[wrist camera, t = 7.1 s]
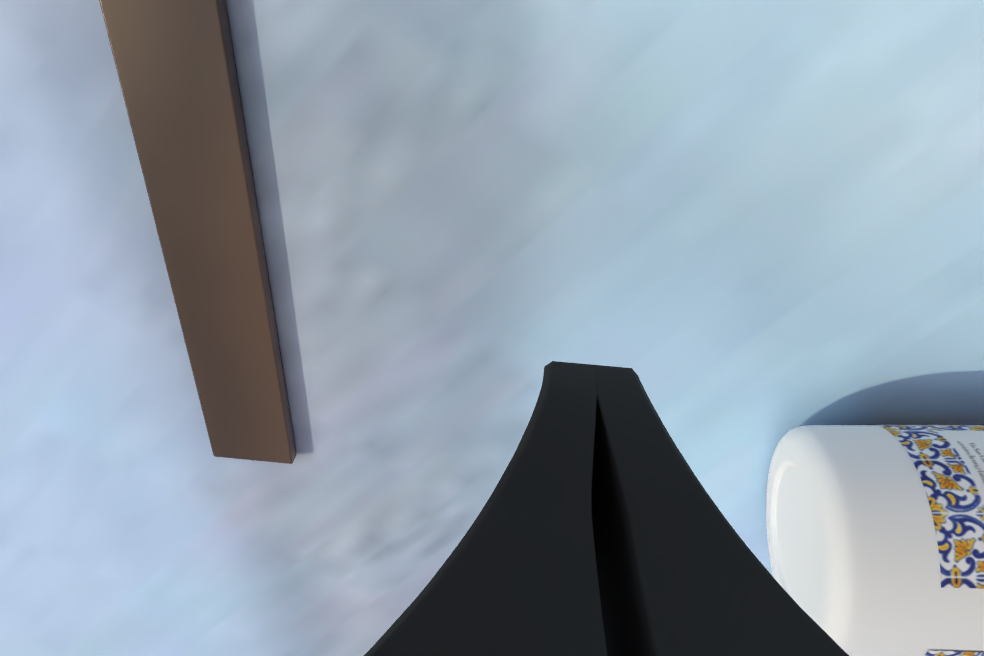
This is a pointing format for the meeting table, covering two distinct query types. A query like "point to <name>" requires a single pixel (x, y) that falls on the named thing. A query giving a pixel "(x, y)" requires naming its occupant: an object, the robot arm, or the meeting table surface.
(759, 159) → the meeting table surface
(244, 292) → the walnut ruler
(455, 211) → the meeting table surface
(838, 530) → the bath foam
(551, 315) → the meeting table surface
